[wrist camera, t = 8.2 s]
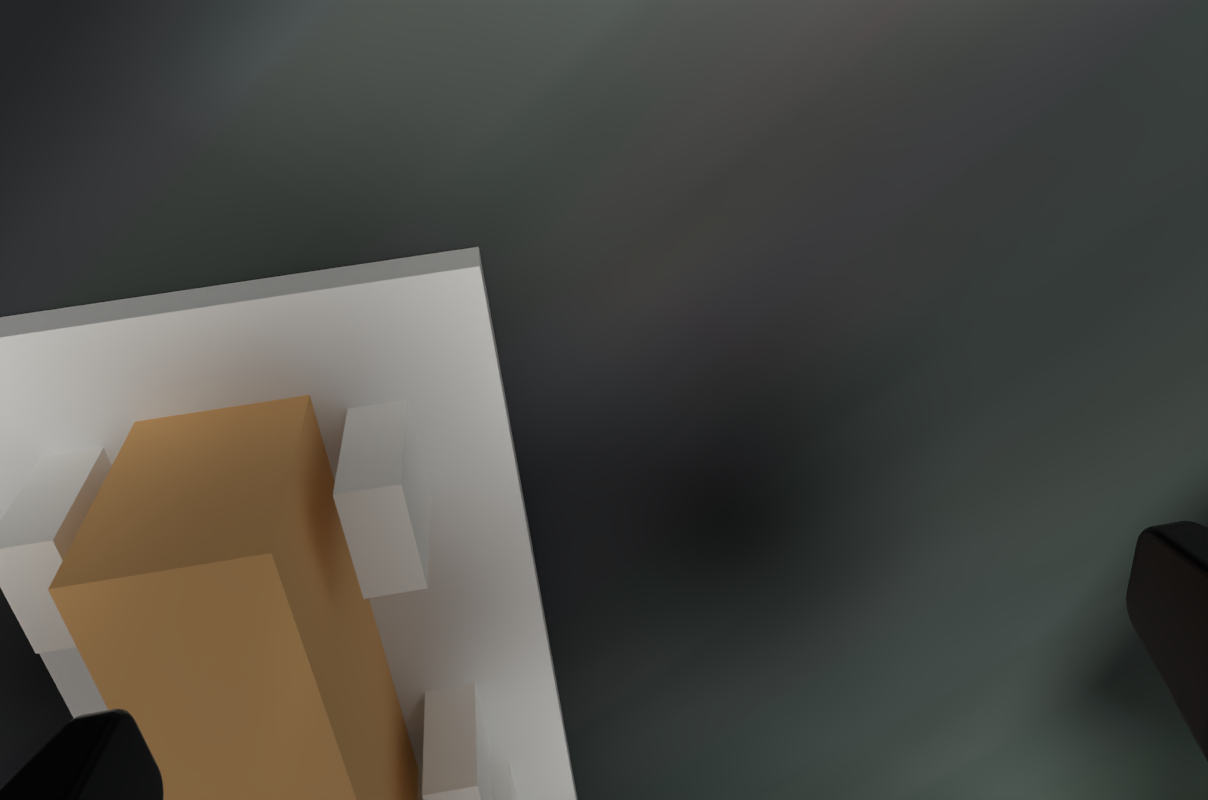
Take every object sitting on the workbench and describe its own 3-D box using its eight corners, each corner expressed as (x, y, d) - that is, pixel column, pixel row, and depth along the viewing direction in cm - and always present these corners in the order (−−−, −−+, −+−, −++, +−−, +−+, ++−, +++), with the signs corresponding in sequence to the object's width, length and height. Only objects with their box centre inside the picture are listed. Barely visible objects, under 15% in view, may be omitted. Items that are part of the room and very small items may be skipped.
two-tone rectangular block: (335, 390, 20) (304, 547, 16) (468, 876, 28) (472, 1068, 24) (109, 425, 20) (14, 595, 16) (308, 906, 28) (283, 1106, 23)
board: (478, 246, 20) (484, 335, 17) (590, 872, 30) (608, 1008, 27) (-95, 331, 19) (-212, 442, 16) (217, 942, 30) (187, 1090, 26)
